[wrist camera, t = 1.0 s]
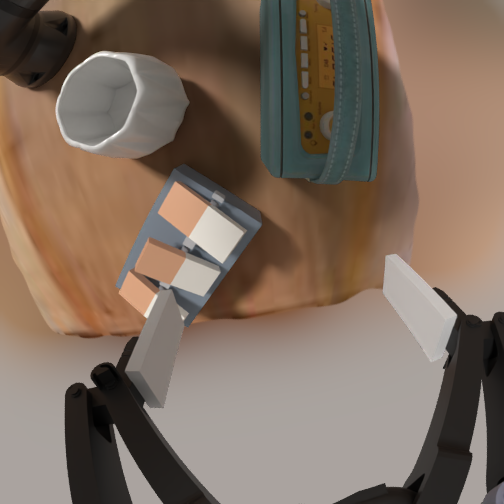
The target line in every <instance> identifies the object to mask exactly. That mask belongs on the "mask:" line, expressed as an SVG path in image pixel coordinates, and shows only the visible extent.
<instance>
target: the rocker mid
mask: <svg viewBox="0 0 504 504" xmlns="http://www.w3.org/2000/svg"><path fill="white" fill-rule="evenodd" d="M189 251H190V249H189V248H188V247H186V246H183V247H182V249H181V250H179V249H177V248H175V247H172V246H170V245H168V244H165V243H163V242H160V241H158V240H156V239H154V238H151V237H149V238H148V240H147V242H146V244H145V246H144V248H143V250H142V252H141V254H140V256H139V258H138V260H137V262H136V264H135V272H138V273H140V274H143V275H145V276H148V277H151V278H153V279H156V280H159V281H161V282H164V283H167V284H169V285H172V286H175V287H178V288H180V289H183V290H186V291H189V292H192V293H195V294H197V295H200V296H203V297H204V295H205V294H206V292H207V291H208V290H209V288H210V287H211V285H212V284H213V282H214V281H215V280H216V278H217V277H218V275H219V274H220V273H221V272H220V268H219V266H218V265H215V264H213V263H210V262H208V261H206V260H203V259H201V258H198V257H196V256H194V255H191V254H189V253H188V252H189Z"/></svg>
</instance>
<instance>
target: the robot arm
mask: <svg viewBox="0 0 504 504" xmlns="http://www.w3.org/2000/svg"><path fill="white" fill-rule="evenodd" d="M48 1H49V0H0V76H5V77H6V78H8V79H9V80H11V81H12V82H14V83H15V84H17V85H18V86H21V87H29V88H34V87H38V86H40V85H42V84H44V83H46V82H47V81H48V80H50V79H51V78H52V77H53V76H54V75H55V74H56V73H57V72H58V71H59V69H60V68H61V67H62V65H63V64H64V62H65V61H66V59H67V58H68V56H69V54H70V52H71V50H72V47H73V44H74V41H75V37H76V23H75V20H74V18H73V17H72V16H70V15H69V14H67V13H65V12H62V11H40V9H41V8H42V7H43V6H44V5H45V4H46V3H47V2H48ZM383 294H384V296H385V297H386V298H387V300H388V301H389V302H390V303H391V305H392V306H393V308H394V309H395V311H396V312H397V313H398V315H399V316H400V317H401V319H402V320H403V322H404V323H405V325H406V326H407V327H408V329H409V330H410V332H411V333H412V335H413V336H414V338H415V339H416V340H417V342H418V343H419V345H420V346H421V348H422V349H423V351H424V352H425V354H426V355H427V357H428V359H429V360H430V362H432V361H435V360H437V359H440V358H442V357H443V354H444V352H445V349H446V350H447V351H448V353H449V355H448V358H447V360H446V362H445V365H444V367H443V369H445V372H444V377H443V382H442V385H441V390H440V394H439V398H438V401H437V405H436V408H435V412H434V415H433V418H432V421H431V425H430V427H429V431H428V433H427V436H426V439H425V442H424V445H423V447H422V450H421V452H420V455H419V457H418V460H417V462H416V464H415V467H414V469H413V471H412V473H411V474H410V476H409V477H408V479H407V480H406V482H405V484H404V486H403V487H386V485H385V483H384V484H381V485H378V486H375V487H372V488H368V489H365V490H362V491H358V492H356V493H354V494H352V495H350V496H348V497H346V498H344V499H342V500H340V501H338V502H336V503H334V504H457V503H458V500H459V497H460V495H461V492H462V490H463V487H464V484H465V481H466V478H467V475H468V472H469V469H470V465H471V461H472V453H470V452H469V449H470V444H471V440H472V436H473V431H474V426H475V422H476V416H477V410H478V403H479V397H480V389H481V379H482V385H483V391H484V401H485V411H486V426H487V470H486V487H487V495H486V496H485V498H484V500H483V502H482V503H481V504H504V312H497V313H495V314H494V316H493V319H492V321H484V322H482V320H481V319H480V318H479V317H477V316H474V315H466V314H465V313H464V312H463V311H462V310H461V309H460V308H459V307H458V306H457V305H456V304H455V303H454V302H453V301H452V299H451V298H450V297H448V295H447V294H446V293H445V292H443V291H442V290H440V289H438V288H436V287H435V288H431V287H430V286H429V285H428V284H427V283H426V282H425V281H424V280H423V279H422V278H421V277H420V276H419V275H418V274H417V273H416V272H415V271H414V270H413V269H412V268H411V267H410V266H409V265H408V264H407V263H406V262H404V261H403V260H402V259H401V258H400V257H399V256H398V255H397V254H391V255H386V258H385V272H384V284H383ZM183 329H184V322H183V319H182V316H181V314H180V311H179V308H178V305H177V303H176V300H175V297H174V294H173V291H172V289H170V290H162V291H160V293H159V295H158V297H157V299H156V301H155V303H154V305H153V307H152V310H151V312H150V314H149V316H148V318H147V320H146V323H145V325H144V327H143V329H142V332H141V334H140V336H139V337H132V338H131V340H130V341H129V342H128V343H127V344H126V346H125V349H124V352H123V353H122V356H121V358H120V359H119V362H118V364H117V366H116V368H115V366H114V365H113V364H112V363H109V362H107V363H102V364H99V365H98V366H96V367H95V368H94V369H93V370H92V372H91V379H92V381H93V382H94V384H95V385H96V386H97V387H94V388H89V389H87V387H86V386H85V385H84V384H83V383H75V384H73V385H71V386H70V387H69V388H68V389H67V391H66V394H65V444H66V458H67V469H68V477H69V485H70V491H71V498H72V503H73V504H132V501H131V497H130V494H129V491H128V488H127V485H126V481H125V477H124V474H123V470H122V466H121V461H120V457H119V453H118V448H117V444H116V439H115V434H114V428H113V424H115V425H116V427H117V429H118V431H119V433H120V435H121V437H122V439H123V441H124V442H125V444H126V446H127V448H128V450H129V452H130V453H131V455H132V457H133V458H134V460H135V462H136V464H137V465H138V467H139V469H140V470H141V472H142V473H143V475H144V476H145V478H146V479H147V481H148V482H149V484H150V485H151V487H152V488H153V490H154V491H155V493H156V494H157V496H158V497H159V498H160V500H161V501H162V502H163V504H220V503H219V502H218V501H217V500H216V499H215V498H214V497H213V496H212V495H211V494H210V493H209V492H208V490H207V489H206V488H205V487H204V486H203V485H202V484H201V483H200V482H199V481H198V479H197V478H196V477H195V476H194V475H193V474H192V473H191V471H190V470H189V469H188V468H187V467H186V465H185V464H184V463H183V462H182V460H181V459H180V458H179V457H178V455H177V454H176V453H175V452H174V450H173V449H172V448H171V446H170V445H169V444H168V442H167V441H166V440H165V438H164V437H163V435H162V434H161V433H160V431H159V430H158V428H157V427H156V426H155V424H154V423H153V421H152V420H151V418H150V417H149V415H148V414H147V412H146V411H145V409H144V408H143V405H144V402H146V403H147V405H148V406H149V407H151V408H153V407H154V408H164V404H165V400H166V395H167V391H168V387H169V383H170V379H171V375H172V371H173V367H174V363H175V359H176V355H177V351H178V347H179V344H180V340H181V336H182V333H183Z"/></svg>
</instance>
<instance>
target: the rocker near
mask: <svg viewBox="0 0 504 504" xmlns="http://www.w3.org/2000/svg"><path fill="white" fill-rule="evenodd" d="M218 205H219V203H218V202H217V201H215V200H211V202H208V201H207V200H206V199H204V198H203V197H202V196H200V195H199V194H197V193H196V192H195V191H193V190H192V189H191V188H189V187H188V186H187V185H185V184H184V183H183V182H181V181H175V183H174V184H173V186H172V188H171V190H170V191H169V193H168V195H167V197H166V198H165V200H164V202H163V204H162V206H161V208H160V209H159V211H158V214H159V215H161V216H162V217H163V218H164V219H166V220H167V221H168V222H169V223H171V224H172V225H173V226H175V227H176V228H177V229H178V230H180V231H181V232H182V233H183V234H185V235H186V236H187V237H188V238H190V239H191V240H192V241H194V242H195V243H196V244H197V245H199V246H200V247H201V248H202V249H204V250H205V251H206V252H208V253H209V254H210V255H212V256H213V257H214V258H215V259H217V260H218V261H219V262H221V263H222V264H223V263H224V262H225V261H226V260H227V258H228V257H229V256H230V254H231V253H232V251H233V250H234V248H235V247H236V246H237V244H238V243H239V241H240V240H241V239H242V237H243V236H244V234H245V233H246V232H247V230H246V229H245V228H243V227H242V226H241V225H239V224H238V223H237V222H235V221H234V220H233V219H231V218H230V217H229V216H227V215H226V214H225V213H223V212H222V211H220V210H219V209H218V208H217V207H218Z"/></svg>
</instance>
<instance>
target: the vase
mask: <svg viewBox="0 0 504 504" xmlns="http://www.w3.org/2000/svg"><path fill="white" fill-rule="evenodd" d="M188 105H189V100H188V99H187V96H186V94H185V91H184V87H183V85H182V81H181V79H180V77H179V76H178V74H177V72H176V71H175V69H174V68H172V67H171V66H169V65H168V64H166V63H164V62H162V61H160V60H159V59H157V58H155V57H153V56H149V55H143V54H136V53H127V52H112V51H100V52H97V53H95V54H93V55H92V56H90V57H89V58H87V59H86V60H85V61H84V62H83V63H81V64H80V65H78V66H77V67H75V68H74V69H73V70H72V71H71V72H70V73H69V74H68V76H67V77H66V79H65V81H64V83H63V86H62V88H61V93H60V95H59V97H58V99H57V104H56V118H57V122H58V124H59V126H60V127H59V128H60V131H61V134H62V136H63V138H64V140H65V141H66V142H67V143H68V144H69V145H70V146H73V147H75V148H80V149H81V150H83V151H87V152H90V153H93V154H97V155H102V156H106V157H111V158H129V159H136V158H137V159H138V158H140V157H143V156H146V155H149V154H151V153H153V152H154V151H156V150H157V149H159V148H161V147H162V146H164V145H166V144H167V143H169V142H171V141H173V140H174V138H175V134H176V132H177V130H178V128H179V126H180V125H181V123H182V121H183V118H184V113H185V110H186V108H187V106H188Z"/></svg>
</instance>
